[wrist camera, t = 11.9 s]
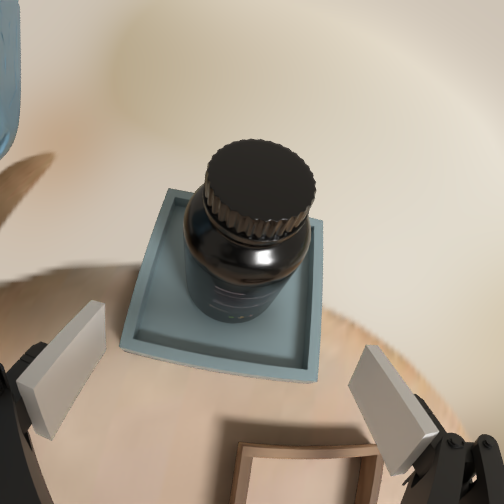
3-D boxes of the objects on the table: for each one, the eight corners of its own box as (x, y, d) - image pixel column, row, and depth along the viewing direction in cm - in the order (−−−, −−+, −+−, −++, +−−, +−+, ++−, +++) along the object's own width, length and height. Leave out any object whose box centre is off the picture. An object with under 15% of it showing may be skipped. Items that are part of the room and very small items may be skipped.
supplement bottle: (182, 246, 23) (181, 122, 13) (265, 241, 25) (313, 127, 15) (189, 331, 20) (185, 248, 10) (282, 321, 22) (361, 238, 12)
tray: (124, 351, 19) (118, 346, 18) (169, 201, 26) (168, 188, 24) (308, 383, 20) (317, 381, 19) (315, 231, 27) (322, 220, 26)
